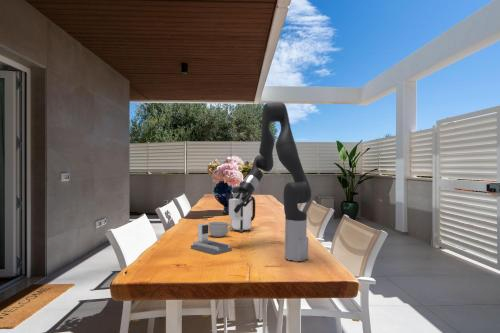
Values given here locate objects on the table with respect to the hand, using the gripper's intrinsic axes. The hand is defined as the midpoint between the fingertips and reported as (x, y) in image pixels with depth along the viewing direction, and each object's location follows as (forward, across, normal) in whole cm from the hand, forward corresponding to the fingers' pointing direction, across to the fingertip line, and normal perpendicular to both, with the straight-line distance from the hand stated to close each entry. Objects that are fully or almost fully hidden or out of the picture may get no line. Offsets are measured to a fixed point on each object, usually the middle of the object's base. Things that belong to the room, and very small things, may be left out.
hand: (231, 211), depth 171 cm
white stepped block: (+2, 0, +4) cm, 5 cm away
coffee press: (-14, -28, +39) cm, 50 cm away
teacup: (+2, -24, +24) cm, 34 cm away
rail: (+19, -5, +6) cm, 21 cm away
